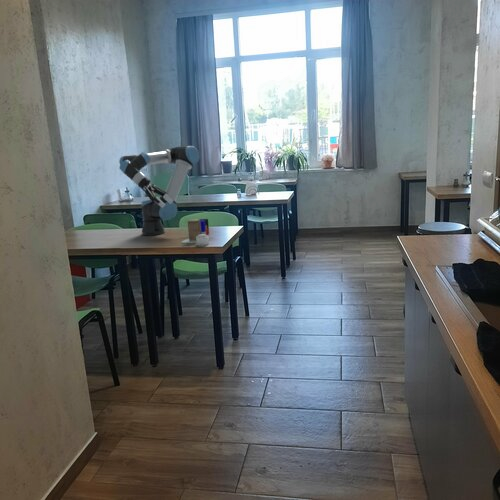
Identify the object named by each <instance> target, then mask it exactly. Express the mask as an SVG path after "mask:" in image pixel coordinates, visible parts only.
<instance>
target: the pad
mask: <svg viewBox="0 0 500 500" xmlns="http://www.w3.org/2000/svg"><path fill="white" fill-rule="evenodd" d="M210 239H211V237H209V236H208V240H210ZM180 243H181V244H197V242H196V241H189V237H187V238H186V239H184V240H182V241H181V242H180Z"/></svg>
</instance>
